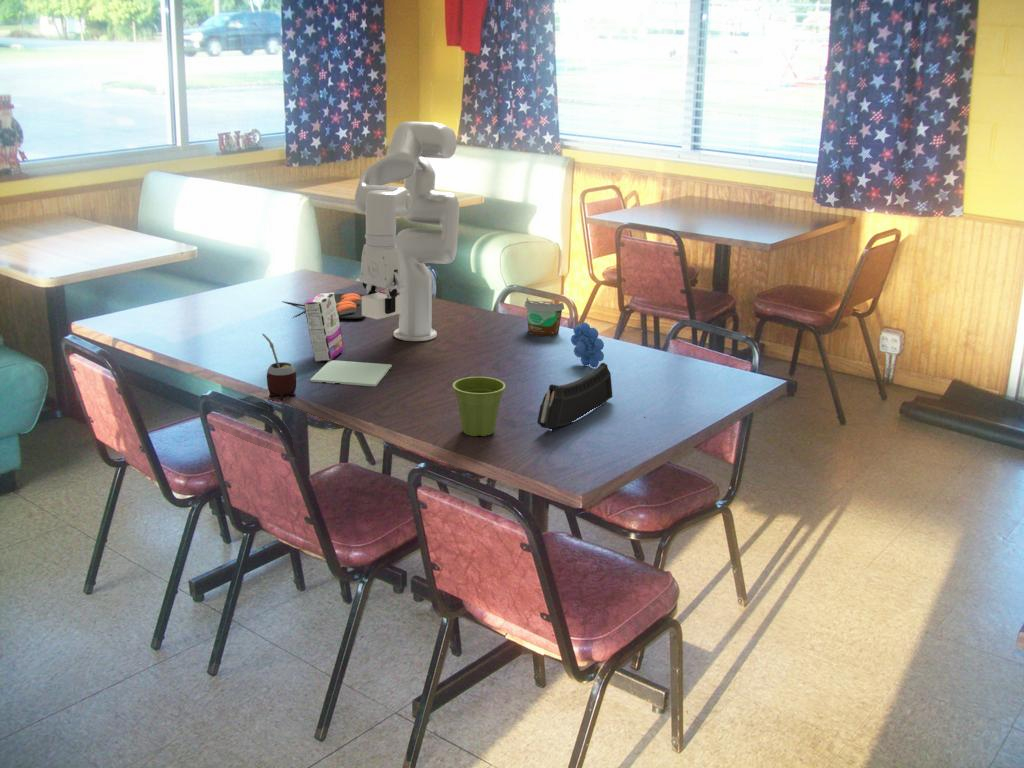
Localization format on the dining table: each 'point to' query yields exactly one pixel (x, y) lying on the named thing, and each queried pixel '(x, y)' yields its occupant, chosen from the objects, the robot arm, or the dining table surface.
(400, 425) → the dining table surface
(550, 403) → the magazine
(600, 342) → the grapes
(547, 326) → the food container
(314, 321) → the candy bar box
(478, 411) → the plant pot
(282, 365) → the mate gourd
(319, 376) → the mat
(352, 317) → the sushi plate
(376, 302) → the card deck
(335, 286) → the dining table surface
